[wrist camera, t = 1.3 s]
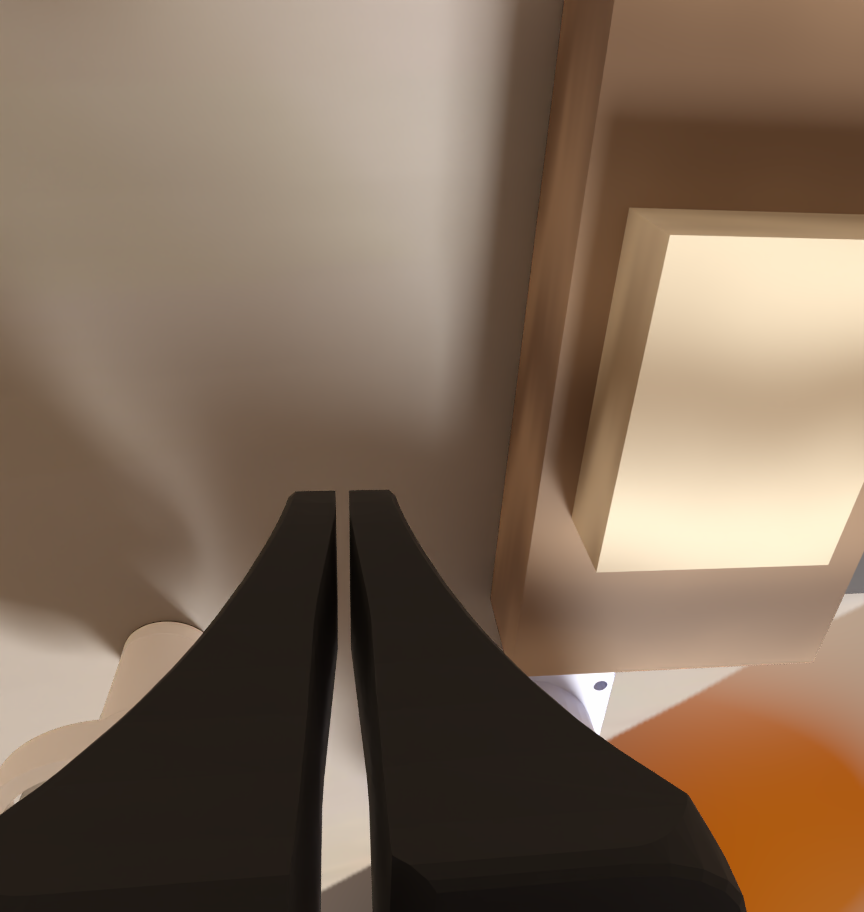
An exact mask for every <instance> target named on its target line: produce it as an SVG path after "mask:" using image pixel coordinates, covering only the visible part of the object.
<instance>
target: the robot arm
mask: <svg viewBox="0 0 864 912" xmlns="http://www.w3.org/2000/svg"><path fill="white" fill-rule="evenodd" d="M349 511H350V607H351V651H352V659H353V668H354V676H355V684H356V692H357V700H358V708H359V717H360V725H361V733H362V741H363V749H364V757H365V765H366V773H367V784H368V796H369V811H370V843H371V875H372V906H373V907H372V908H373V912H746V907H745V902H744V898H743V895H742V893H741V891H740V888H739V886H738V884H737V882H736V880H735V877H734V875H733V873H732V871H731V869H730V866H729V864H728V862H727V860H726V858H725V856H724V854H723V853H722V851H721V849H720V847H719V845H718V844H717V842H716V840H715V839H714V837H713V835H712V834H711V832H710V830H709V828H708V827H707V825H706V823H705V822H704V820H703V818H702V817H701V815H700V813H699V812H698V810H697V808H696V807H695V805H694V804H693V802H692V800H691V798H690V797H689V795H687V793H685V792H683V791H682V790H680V789H678V788H677V787H676V786H674V785H673V784H671V783H670V782H668V781H666V780H665V779H663V778H662V777H660V776H659V775H657V774H656V773H654V772H653V771H651V770H649V769H648V768H646V767H645V766H643V765H642V764H640V763H638V762H637V761H635V760H634V759H632V758H631V757H629V756H628V755H626V754H624V753H623V752H622V751H620V750H618V749H617V748H616V747H614V746H613V745H611V744H610V743H609V742H607V741H606V740H605V739H603V738H602V737H601V736H599V735H600V732H601V728H602V724H603V720H604V716H605V712H606V709H607V705H608V701H609V697H610V693H611V689H612V686H613V682H614V678H615V672H610V673H590V674H570V675H550V676H530V677H528V676H527V675H526V674H525V673H524V672H523V671H522V670H521V669H520V668H519V667H518V666H517V665H516V664H515V663H514V662H513V661H512V660H511V659H510V658H509V657H508V656H507V655H506V654H505V653H504V652H503V651H502V650H501V649H500V648H499V647H498V646H497V645H496V644H495V643H494V642H493V641H492V640H491V639H490V637H489V636H488V635H487V634H486V633H485V632H484V631H483V630H482V629H481V627H480V626H479V625H478V624H477V623H476V622H475V620H474V619H473V618H472V617H471V616H470V614H469V613H468V612H467V611H466V609H465V608H464V607H463V606H462V604H461V603H460V602H459V601H458V599H457V598H456V597H455V595H454V594H453V593H452V592H451V590H450V589H449V587H448V586H447V585H446V583H445V582H444V581H443V579H442V578H441V576H440V575H439V573H438V572H437V570H436V569H435V567H434V566H433V564H432V563H431V561H430V560H429V558H428V557H427V555H426V554H425V552H424V551H423V549H422V548H421V546H420V544H419V543H418V541H417V539H416V538H415V536H414V534H413V532H412V530H411V529H410V527H409V525H408V523H407V521H406V519H405V517H404V515H403V513H402V511H401V509H400V507H399V505H398V502H397V499H396V496H395V495H394V494H392V493H391V492H390V491H389V490H356V491H349ZM337 650H338V598H337V546H336V499H335V491H301V492H295V493H294V494H292V495H291V496H290V497H289V498H288V501H287V503H286V506H285V508H284V510H283V513H282V515H281V517H280V519H279V521H278V523H277V525H276V527H275V529H274V530H273V532H272V534H271V536H270V538H269V539H268V541H267V543H266V545H265V546H264V548H263V549H262V551H261V553H260V554H259V556H258V557H257V559H256V561H255V562H254V564H253V565H252V567H251V569H250V570H249V572H248V573H247V575H246V576H245V578H244V579H243V581H242V582H241V584H240V585H239V586H238V588H237V589H236V590H235V592H234V593H233V595H232V596H231V597H230V599H229V600H228V601H227V603H226V604H225V605H224V607H223V608H222V609H221V611H220V612H219V614H218V615H217V616H216V618H215V619H214V620H213V621H212V623H211V624H210V625H209V626H208V628H207V629H206V630H205V631H204V632H203V634H202V635H201V636H200V637H199V638H198V640H197V641H196V642H195V643H194V644H193V645H192V647H191V648H190V649H189V650H188V651H187V652H186V653H185V654H184V655H183V657H182V658H181V659H180V660H179V661H178V662H177V663H176V664H175V665H174V666H173V668H172V669H171V670H170V671H169V672H168V673H167V674H166V675H165V676H164V677H163V678H162V679H161V680H160V681H159V682H158V683H157V684H156V685H155V686H154V687H153V688H152V689H151V690H150V691H149V692H148V693H147V694H146V695H145V696H144V697H143V698H142V699H141V700H140V701H139V702H138V703H137V704H136V705H135V706H134V707H133V708H132V709H130V710H129V711H128V712H127V713H126V714H125V715H124V716H123V717H122V718H121V719H120V720H119V721H117V722H116V723H115V724H114V725H113V726H112V727H111V728H109V729H108V730H107V731H106V732H105V733H103V734H102V735H101V736H100V737H99V738H98V739H96V740H95V741H94V742H93V743H92V744H91V745H89V746H88V747H87V748H86V749H85V750H83V751H82V752H81V753H80V754H79V755H78V756H76V757H75V758H74V759H73V760H72V761H70V762H69V763H68V764H67V765H66V766H65V767H63V768H62V769H61V770H60V771H58V772H57V773H56V774H55V775H53V776H52V777H51V778H50V779H48V780H47V781H46V782H45V783H43V784H42V785H41V786H39V787H38V788H37V789H35V790H34V791H33V792H31V793H30V794H28V795H27V796H26V797H24V798H23V799H21V800H20V801H19V802H17V803H16V804H14V805H13V806H12V807H10V808H9V809H7V810H6V811H5V812H3V813H2V814H0V912H321V844H322V802H323V786H324V774H325V765H326V755H327V746H328V736H329V727H330V717H331V708H332V698H333V689H334V679H335V669H336V660H337ZM599 681H600V682H599Z"/></svg>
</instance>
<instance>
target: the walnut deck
mask: <svg viewBox="0 0 864 912" xmlns="http://www.w3.org/2000/svg"><path fill="white" fill-rule="evenodd" d="M629 208H658V209H692V210H726V211H759V212H793V213H827V214H860V215H864V0H564V5H563V13H562V21H561V29H560V37H559V45H558V54H557V62H556V70H555V78H554V86H553V94H552V102H551V110H550V118H549V127H548V135H547V143H546V151H545V159H544V167H543V175H542V183H541V191H540V200H539V208H538V216H537V224H536V232H535V240H534V248H533V256H532V264H531V273H530V281H529V289H528V297H527V305H526V313H525V321H524V329H523V337H522V346H521V354H520V362H519V370H518V378H517V386H516V394H515V402H514V410H513V419H512V427H511V435H510V443H509V451H508V459H507V467H506V475H505V483H504V492H503V500H502V508H501V516H500V524H499V532H498V540H497V548H496V556H495V565H494V573H493V581H492V589H491V597H490V600H491V604H492V608H493V612H494V616H495V620H496V624H497V627H498V631H499V635H500V639H501V643H502V647H503V651H504V653H505V654H506V655H507V656H508V657H509V658H510V659H511V660H512V661H513V662H514V663H515V664H516V665H517V666H518V667H519V668H520V669H521V670H522V671H523V672H524V673H525V674H526V675H527V676H528V677H530V676H550V675H570V674H590V673H610V672H630V671H650V670H670V669H690V668H710V667H730V666H750V665H769V664H790V663H810V662H814V659H815V657H816V655H817V653H818V650H819V649H820V646H821V644H822V642H823V640H824V638H825V635H826V633H827V631H828V629H829V627H830V625H831V622H832V620H833V618H834V616H835V614H836V611H837V609H838V607H839V605H840V603H841V601H842V598H843V596H844V594H845V592H846V590H847V587H848V585H849V583H850V581H851V579H852V576H853V574H854V572H855V570H856V568H857V566H858V563H859V561H860V559H861V557H862V555H863V552H864V483H863V485H862V487H861V490H860V492H859V494H858V497H857V499H856V501H855V504H854V506H853V508H852V511H851V513H850V515H849V518H848V520H847V522H846V525H845V527H844V529H843V532H842V534H841V536H840V539H839V541H838V543H837V546H836V548H835V550H834V553H833V555H832V557H831V560H830V562H829V564H828V565H811V566H780V567H750V568H719V569H689V570H658V571H628V572H597V573H596V571H595V568H594V566H593V564H592V562H591V560H590V558H589V555H588V553H587V551H586V549H585V547H584V545H583V542H582V540H581V538H580V536H579V534H578V532H577V529H576V527H575V525H574V523H573V521H572V513H573V507H574V502H575V496H576V491H577V486H578V480H579V475H580V470H581V464H582V459H583V453H584V448H585V443H586V437H587V432H588V427H589V421H590V416H591V410H592V405H593V400H594V394H595V389H596V383H597V378H598V373H599V367H600V362H601V357H602V351H603V346H604V340H605V335H606V330H607V324H608V319H609V314H610V308H611V303H612V297H613V292H614V287H615V281H616V276H617V271H618V265H619V260H620V254H621V249H622V244H623V238H624V233H625V228H626V222H627V217H628V211H629Z"/></svg>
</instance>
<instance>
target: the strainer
mask: <svg viewBox="0 0 864 912" xmlns="http://www.w3.org/2000/svg"><path fill="white" fill-rule="evenodd" d="M202 634H203V632H202V631H200V630H198V629H196V628H194V627H192V626H189V625H186V624H183V623H178V622H156V623H152V624H148V625H145V626H143V627H141V628H139V629H137V630H136V631H134V632H133V633H132V634H131V635H130V636H129V637H128V639H127V641H126V643H125V645H124V648H123V651H122V654H121V657H120V662H119V664H118V667H117V670H116V673H115V676H114V679H113V682H112V685H111V688H110V691H109V694H108V697H107V700H106V703H105V706H104V709H103V711H102V714H101V716H100V719H99V720H92V721H85V722H80V723H75V724H71V725H67V726H63V727H60V728H57V729H54V730H51V731H48V732H46V733H43V734H41V735H39V736H37V737H35V738H33V739H31V740H30V741H28V742H26V743H25V744H23V745H22V746H20V747H19V748H18V749H17V750H15V751H14V752H13V753H12V754H11V755H10V756H9V757H8V758H7V759H6V760H5V762H4V763H3V764H2V766H1V767H0V814H2V813H3V812H5V811H6V810H7V809H9V808H10V807H12V806H13V805H14V803H13V799H15V798H16V797H17V796H18V795H20V794H21V793H22V795H21V797H20V800H21V799H23V798H24V797H26V796H27V795H28V794H30V793H31V792H33V791H34V790H35V789H37V788H38V787H39V786H41V785H42V784H43V783H45V782H46V781H47V780H48V779H50V778H51V777H52V776H53V775H55V774H56V773H57V772H58V771H60V770H61V769H62V768H63V767H65V766H66V765H67V764H68V763H69V762H70V761H72V760H73V759H74V758H75V757H76V756H78V755H79V754H80V753H81V752H82V751H83V750H85V749H86V748H87V747H88V746H89V745H91V744H92V743H93V742H94V741H95V740H96V739H98V738H99V737H100V736H101V735H102V734H103V733H105V732H106V731H107V730H108V729H109V728H111V727H112V726H113V725H114V724H115V723H116V722H117V721H119V720H120V719H121V718H122V717H123V716H124V715H125V714H126V713H127V712H128V711H129V710H130V709H132V708H133V707H134V706H135V705H136V704H137V703H138V702H139V701H140V700H141V699H142V698H143V697H144V696H145V695H146V694H147V693H148V692H149V691H150V690H151V689H152V688H153V687H154V686H155V685H156V684H157V683H158V682H159V681H160V680H161V679H162V678H163V677H164V676H165V675H166V674H167V673H168V672H169V671H170V670H171V669H172V668H173V666H174V665H175V664H176V663H177V662H178V661H179V660H180V659H181V658H182V657H183V655H184V654H185V653H186V652H187V651H188V650H189V649H190V648H191V647H192V645H193V644H194V643H195V642H196V641H197V640H198V638H199V637H200V636H201V635H202ZM20 800H19V801H20Z"/></svg>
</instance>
